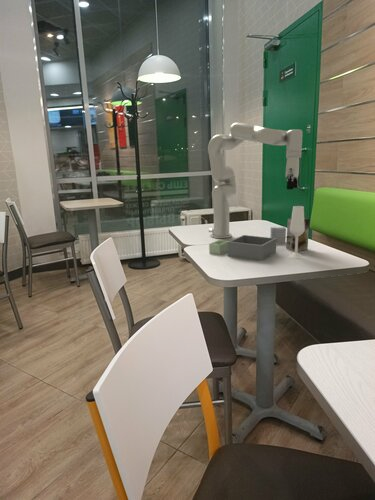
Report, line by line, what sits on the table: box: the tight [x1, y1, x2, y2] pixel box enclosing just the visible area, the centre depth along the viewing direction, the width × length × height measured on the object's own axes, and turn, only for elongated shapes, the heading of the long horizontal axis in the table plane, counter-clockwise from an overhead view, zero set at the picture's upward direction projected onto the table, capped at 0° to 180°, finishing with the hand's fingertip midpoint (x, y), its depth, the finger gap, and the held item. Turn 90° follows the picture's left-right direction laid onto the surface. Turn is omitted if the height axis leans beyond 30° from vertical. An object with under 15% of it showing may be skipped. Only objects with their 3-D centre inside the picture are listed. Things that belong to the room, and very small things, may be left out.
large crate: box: [227, 234, 277, 262], centre depth 176 cm, size 18×18×7 cm
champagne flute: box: [288, 205, 305, 259], centre depth 167 cm, size 7×7×24 cm
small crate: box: [208, 239, 229, 255], centre depth 183 cm, size 6×10×5 cm, turn 146°
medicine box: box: [269, 226, 287, 244], centre depth 198 cm, size 8×4×9 cm, turn 84°
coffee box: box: [285, 217, 310, 252], centre depth 182 cm, size 9×6×16 cm
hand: (292, 188), depth 186 cm, fingers open, 9 cm apart
